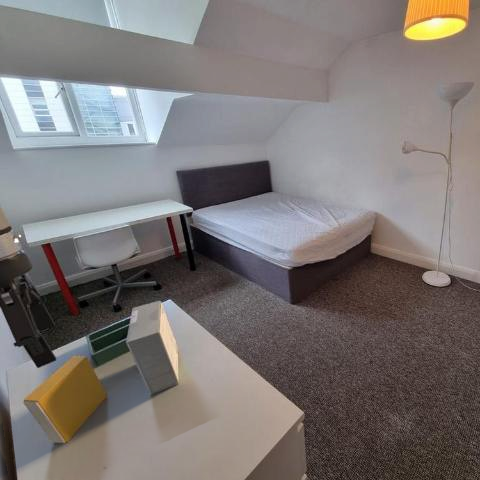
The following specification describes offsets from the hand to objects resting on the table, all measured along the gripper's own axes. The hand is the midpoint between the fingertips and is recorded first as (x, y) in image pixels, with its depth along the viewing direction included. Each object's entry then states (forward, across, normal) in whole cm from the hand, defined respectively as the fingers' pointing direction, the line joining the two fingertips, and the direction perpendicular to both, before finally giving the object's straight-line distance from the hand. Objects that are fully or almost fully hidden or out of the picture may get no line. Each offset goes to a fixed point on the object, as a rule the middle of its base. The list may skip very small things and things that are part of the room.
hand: (47, 344), depth 57 cm
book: (+26, +4, +2) cm, 26 cm away
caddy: (+26, +27, -11) cm, 39 cm away
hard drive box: (+26, +4, -18) cm, 32 cm away
